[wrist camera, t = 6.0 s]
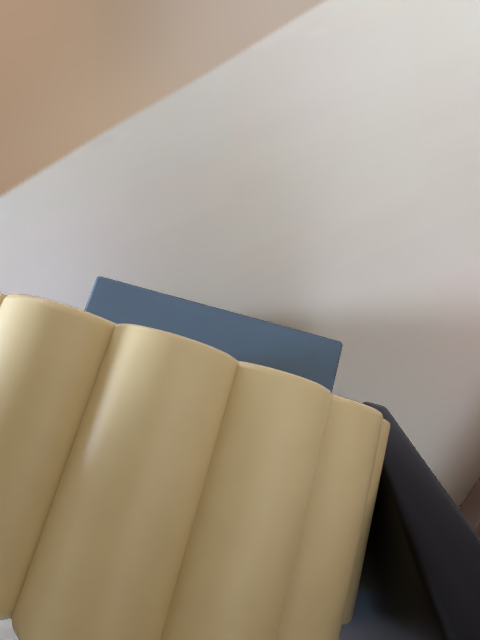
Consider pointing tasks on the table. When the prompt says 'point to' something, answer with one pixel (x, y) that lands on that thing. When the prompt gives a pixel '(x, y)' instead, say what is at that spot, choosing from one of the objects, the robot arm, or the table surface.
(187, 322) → the blue block
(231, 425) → the cream fluted ring
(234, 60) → the table surface
